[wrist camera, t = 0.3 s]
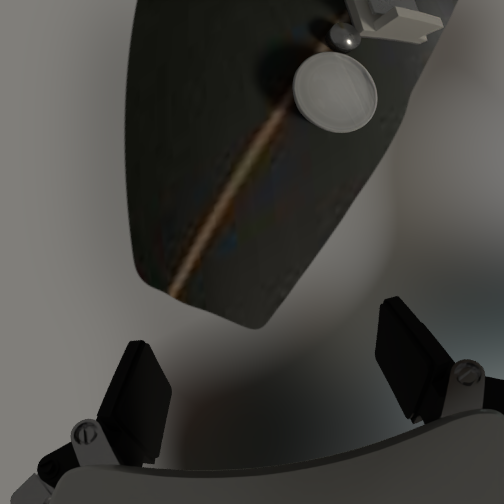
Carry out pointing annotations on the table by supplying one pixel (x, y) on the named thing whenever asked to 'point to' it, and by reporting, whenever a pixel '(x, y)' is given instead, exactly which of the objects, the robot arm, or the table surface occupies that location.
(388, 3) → the pan
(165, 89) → the table surface
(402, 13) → the scale housing
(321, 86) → the ramekin
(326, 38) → the shiny gray ball
